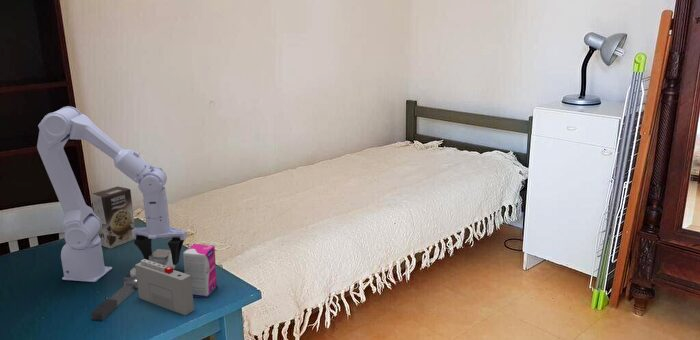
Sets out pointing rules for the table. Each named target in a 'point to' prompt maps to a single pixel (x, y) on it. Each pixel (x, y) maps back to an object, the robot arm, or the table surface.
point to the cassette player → (164, 286)
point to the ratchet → (116, 297)
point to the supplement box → (201, 269)
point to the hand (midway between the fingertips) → (162, 262)
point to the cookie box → (114, 216)
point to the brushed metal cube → (162, 257)
